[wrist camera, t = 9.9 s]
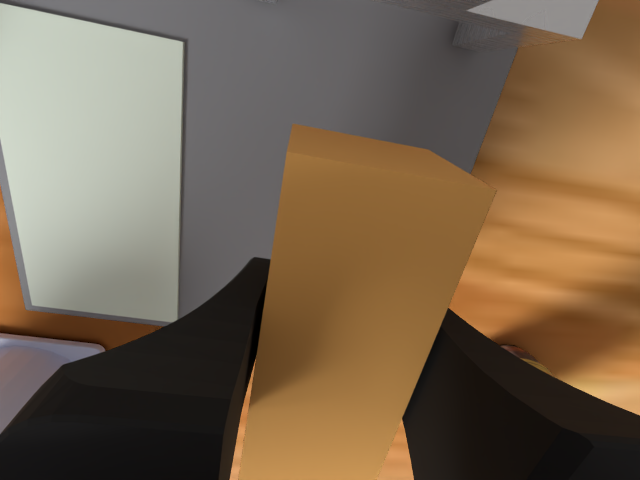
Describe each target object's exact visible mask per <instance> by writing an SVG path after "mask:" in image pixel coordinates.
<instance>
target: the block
mask: <svg viewBox="0 0 640 480" xmlns="http://www.w3.org/2000/svg"><path fill="white" fill-rule="evenodd" d="M496 191H497V190H496V189H495V188H493V187H491V186H489V185H488V184H486V183H484V182H483V181H481V180H479V179H478V178H476V177H474V176H472V175H471V174H469V173H467V172H466V171H464V170H462V169H461V168H459V167H457V166H455V165H454V164H452V163H450V162H449V161H447V160H445V159H443V158H442V157H440V156H438V155H437V154H435V153H433V152H432V151H430V150H428V149H423V148H418V147H413V146H407V145H402V144H397V143H392V142H387V141H381V140H376V139H371V138H366V137H361V136H355V135H350V134H345V133H340V132H335V131H329V130H324V129H319V128H314V127H308V126H303V125H298V124H292V129H291V134H290V139H289V143H288V148H287V153H286V160H285V167H284V173H283V180H282V187H281V194H280V200H279V207H278V214H277V221H276V228H275V234H274V241H273V248H272V255H271V261H270V268H269V275H268V282H267V288H266V295H265V302H264V309H263V315H262V322H261V329H260V336H259V343H258V349H257V356H256V363H255V370H254V376H253V383H252V390H251V397H250V403H249V410H248V417H247V424H246V430H245V437H244V444H243V451H242V457H241V464H240V471H239V478H238V480H377V477H378V475H379V473H380V470H381V468H382V465H383V463H384V460H385V458H386V456H387V453H388V451H389V448H390V446H391V444H392V441H393V439H394V436H395V434H396V432H397V429H398V427H399V424H400V422H401V420H402V417H403V415H404V412H405V410H406V408H407V405H408V403H409V400H410V398H411V396H412V393H413V391H414V388H415V386H416V384H417V381H418V379H419V376H420V374H421V372H422V369H423V367H424V364H425V362H426V360H427V357H428V355H429V352H430V350H431V348H432V345H433V343H434V340H435V338H436V335H437V333H438V331H439V328H440V326H441V323H442V321H443V319H444V316H445V314H446V311H447V309H448V307H449V304H450V302H451V299H452V297H453V295H454V292H455V290H456V287H457V285H458V283H459V280H460V278H461V275H462V273H463V271H464V268H465V266H466V263H467V261H468V259H469V256H470V254H471V251H472V249H473V247H474V244H475V242H476V239H477V237H478V235H479V232H480V230H481V227H482V225H483V223H484V220H485V218H486V215H487V213H488V211H489V208H490V206H491V203H492V201H493V198H494V196H495V194H496Z"/></svg>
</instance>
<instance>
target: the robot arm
mask: <svg viewBox="0 0 640 480" xmlns="http://www.w3.org/2000/svg"><path fill="white" fill-rule="evenodd" d="M270 261H271V259H265V258H258V257H253V258H252V259H250V260H249V262H248V263H247V264H246V265H245V267H244V268H243V269H242V270H241V271H240V272H239V273H238V274H237V275H236V276H235V277H234V278H233V279H232V280H231V281H230V282H229V283H228V284H227V285H226V286H224V287H223V288H222V289H221V290H220V291H218V292H217V293H216V294H215V295H213V296H212V297H211V298H210V299H209V300H207V301H206V302H204V303H203V304H202V305H200V306H199V307H197V308H196V309H194V310H193V311H191V312H190V313H188V314H187V315H185V316H183V317H182V318H180V319H178V320H176V321H174V322H172V323H170V324H168V325H167V326H165V327H163V328H161V329H159V330H157V331H155V332H153V333H150V334H148V335H146V336H144V337H141V338H139V339H137V340H134V341H131V342H129V343H126V344H124V345H121V346H119V347H116V348H113V349H111V350H108V351H105V349H104V348H103V347H102V346H101V345H99V344H93V343H84V342H75V341H66V340H57V339H48V338H39V337H30V336H21V335H12V334H3V333H0V480H229V479H230V473H231V467H232V462H233V456H234V450H235V445H236V439H237V433H238V428H239V422H240V416H241V412H242V407H243V403H244V399H245V395H246V392H247V388H248V384H249V381H250V377H251V373H252V370H253V366H254V362H255V359H256V355H257V349H258V343H259V336H260V329H261V322H262V315H263V309H264V302H265V295H266V288H267V282H268V275H269V268H270ZM402 420H403V424H404V428H405V432H406V438H407V443H408V448H409V453H410V458H411V464H412V470H413V476H414V480H640V416H639V415H637V414H634V413H632V412H629V411H627V410H624V409H622V408H619V407H617V406H615V405H612V404H610V403H607V402H605V401H603V400H601V399H598V398H596V397H594V396H592V395H590V394H588V393H585V392H583V391H581V390H579V389H577V388H575V387H573V386H571V385H569V384H567V383H565V382H563V381H560V380H558V379H557V378H555V377H553V376H551V375H549V374H547V373H545V372H543V371H542V370H540V369H538V368H536V367H534V366H532V365H531V364H529V363H527V362H525V361H524V360H522V359H520V358H519V357H517V356H515V355H514V354H512V353H511V352H509V351H507V350H506V349H504V348H503V347H501V346H499V345H498V344H496V343H495V342H493V341H492V340H490V339H489V338H487V337H486V336H485V335H483V334H482V333H480V332H479V331H478V330H476V329H475V328H474V327H472V326H471V325H469V324H468V323H467V322H466V321H464V320H463V319H462V318H460V317H459V316H458V315H457V314H455V313H454V312H453V311H452V310H450V309H449V308H448V309H447V311H446V314H445V316H444V319H443V321H442V323H441V326H440V328H439V331H438V333H437V335H436V338H435V340H434V343H433V345H432V348H431V350H430V352H429V355H428V357H427V360H426V362H425V364H424V367H423V369H422V372H421V374H420V376H419V379H418V381H417V384H416V386H415V388H414V391H413V393H412V396H411V398H410V400H409V403H408V405H407V408H406V410H405V412H404V415H403V417H402Z"/></svg>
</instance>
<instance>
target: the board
mask: <svg viewBox="0 0 640 480" xmlns="http://www.w3.org/2000/svg"><path fill="white" fill-rule="evenodd" d="M458 22H459V21H456V20H452V19H447V18H443V17H439V16H435V15H431V14H427V13H422V12H418V11H414V10H410V9H406V8H402V7H398V6H393V5H389V4H385V3H381V2H377V1H373V0H277V3H276V4H272V3H267V2H263V1H259V0H0V185H1V190H2V195H3V200H4V205H5V210H6V214H7V219H8V224H9V229H10V234H11V239H12V244H13V249H14V254H15V259H16V264H17V269H18V274H19V279H20V284H21V289H22V294H23V299H24V304H25V309H26V310H32V311H40V312H48V313H57V314H65V315H73V316H82V317H90V318H98V319H107V320H115V321H123V322H132V323H140V324H149V325H157V326H167V325H168V324H170V323H172V322H174V321H176V320H178V319H180V318H182V317H183V316H185V315H187V314H188V313H190V312H191V311H193V310H194V309H196V308H197V307H199V306H200V305H202V304H203V303H204V302H206V301H207V300H209V299H210V298H211V297H212V296H213V295H215V294H216V293H217V292H218V291H220V290H221V289H222V288H223V287H224V286H226V285H227V284H228V283H229V282H230V281H231V280H232V279H233V278H234V277H235V276H236V275H237V274H238V273H239V272H240V271H241V270H242V269H243V268H244V267H245V265H246V264H247V263H248V262H249V260H250V259H252V258H253V257H258V258H265V259H271V255H272V248H273V241H274V234H275V228H276V221H277V214H278V207H279V200H280V194H281V187H282V180H283V173H284V167H285V160H286V153H287V148H288V143H289V139H290V134H291V129H292V124H298V125H303V126H308V127H314V128H319V129H324V130H329V131H335V132H340V133H345V134H350V135H355V136H361V137H366V138H371V139H376V140H381V141H387V142H392V143H397V144H402V145H407V146H413V147H418V148H423V149H428V150H430V151H432V152H433V153H435V154H437V155H438V156H440V157H442V158H443V159H445V160H447V161H449V162H450V163H452V164H454V165H455V166H457V167H459V168H461V169H462V170H464V171H466V172H467V173H469V174H471V171H472V168H473V166H474V163H475V161H476V158H477V155H478V153H479V150H480V147H481V145H482V142H483V139H484V137H485V134H486V131H487V129H488V126H489V123H490V121H491V118H492V116H493V113H494V110H495V108H496V105H497V102H498V100H499V97H500V94H501V92H502V89H503V86H504V84H505V81H506V78H507V76H508V73H509V71H510V68H511V65H512V63H513V60H514V57H515V55H516V52H517V49H518V47H517V48H509V49H501V50H493V51H486V52H479V51H474V50H470V49H466V48H461V47H457V46H453V45H452V42H453V39H454V35H455V32H456V29H457V26H458Z"/></svg>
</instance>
